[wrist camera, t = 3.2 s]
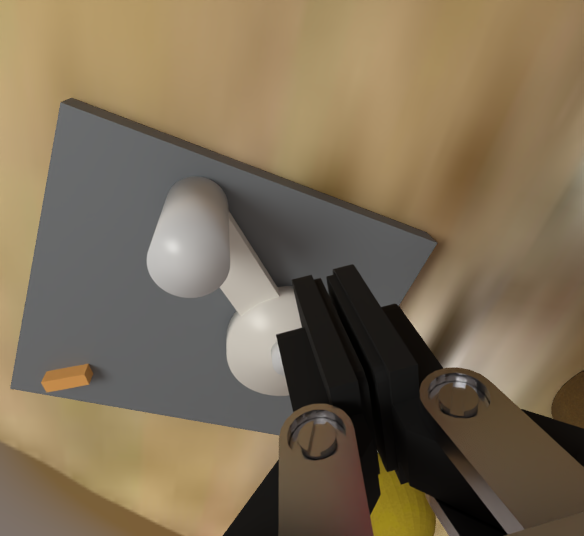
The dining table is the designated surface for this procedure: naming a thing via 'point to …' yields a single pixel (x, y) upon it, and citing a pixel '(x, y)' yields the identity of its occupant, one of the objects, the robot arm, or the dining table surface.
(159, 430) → the dining table surface
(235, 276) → the white lever handle
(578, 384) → the plant pot
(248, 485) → the dining table surface
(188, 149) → the stand board
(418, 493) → the lemon
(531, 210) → the dining table surface
